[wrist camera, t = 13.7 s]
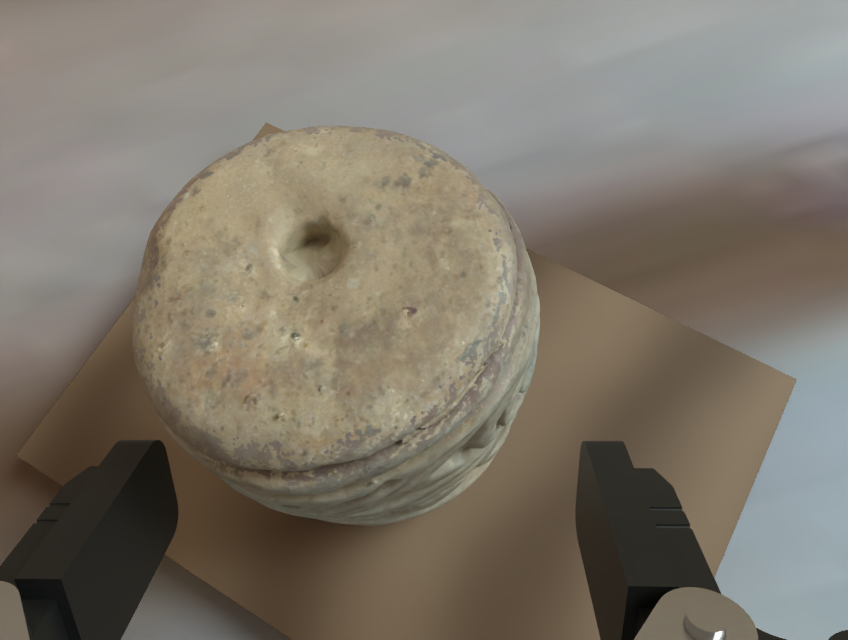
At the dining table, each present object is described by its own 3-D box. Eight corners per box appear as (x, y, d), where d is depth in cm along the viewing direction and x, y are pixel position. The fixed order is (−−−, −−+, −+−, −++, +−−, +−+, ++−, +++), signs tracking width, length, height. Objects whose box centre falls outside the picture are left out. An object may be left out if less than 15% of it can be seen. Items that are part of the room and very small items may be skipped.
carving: (241, 421, 22) (1, 264, 10) (426, 277, 23) (392, 0, 12) (363, 589, 20) (234, 618, 9) (557, 422, 21) (665, 258, 10)
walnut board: (775, 391, 23) (796, 379, 21) (591, 826, 19) (602, 847, 18) (276, 145, 27) (266, 122, 26) (42, 462, 23) (15, 455, 22)
